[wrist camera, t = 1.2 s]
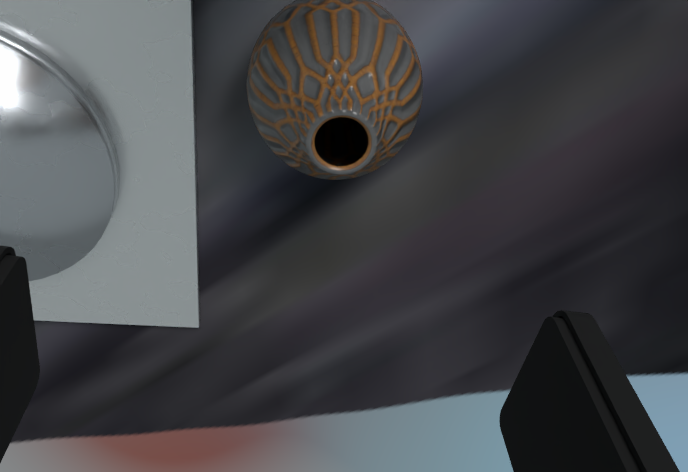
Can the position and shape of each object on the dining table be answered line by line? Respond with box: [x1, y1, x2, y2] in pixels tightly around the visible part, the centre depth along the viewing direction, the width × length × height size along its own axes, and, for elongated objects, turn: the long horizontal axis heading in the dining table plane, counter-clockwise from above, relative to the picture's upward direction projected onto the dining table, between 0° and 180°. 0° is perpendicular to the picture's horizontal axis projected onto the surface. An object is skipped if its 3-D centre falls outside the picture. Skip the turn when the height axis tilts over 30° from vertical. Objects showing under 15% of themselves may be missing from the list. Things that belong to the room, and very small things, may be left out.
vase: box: [247, 0, 423, 180], centre depth 24 cm, size 7×7×9 cm
